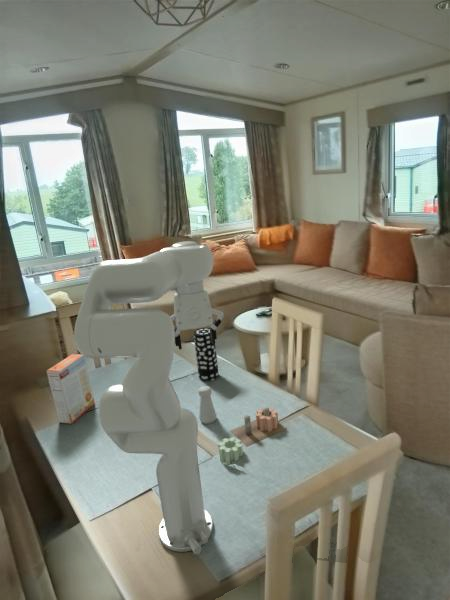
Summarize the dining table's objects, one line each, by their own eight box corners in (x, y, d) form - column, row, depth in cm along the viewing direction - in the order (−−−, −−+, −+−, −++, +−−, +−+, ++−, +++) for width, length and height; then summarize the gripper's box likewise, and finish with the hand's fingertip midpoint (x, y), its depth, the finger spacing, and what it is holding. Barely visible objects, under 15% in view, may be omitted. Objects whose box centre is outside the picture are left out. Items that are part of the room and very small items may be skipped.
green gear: (247, 458, 120) (246, 445, 118) (227, 468, 116) (225, 455, 115) (235, 447, 125) (234, 434, 124) (215, 455, 122) (214, 443, 121)
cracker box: (82, 402, 160) (72, 353, 154) (95, 404, 158) (85, 353, 152) (57, 423, 148) (45, 369, 142) (71, 425, 146) (59, 371, 140)
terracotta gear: (282, 423, 133) (281, 410, 132) (270, 434, 128) (270, 421, 126) (264, 417, 137) (263, 405, 136) (252, 427, 132) (251, 415, 131)
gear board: (287, 431, 130) (285, 411, 128) (247, 450, 123) (245, 429, 121) (268, 417, 139) (267, 398, 137) (230, 434, 132) (228, 414, 130)
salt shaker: (214, 428, 136) (210, 392, 132) (198, 427, 137) (193, 392, 133) (218, 418, 141) (214, 383, 138) (202, 417, 142) (198, 383, 139)
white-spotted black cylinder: (195, 375, 174) (190, 330, 168) (213, 370, 177) (209, 326, 171) (203, 383, 166) (197, 337, 161) (221, 377, 170) (217, 332, 164)
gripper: (159, 295, 108) (167, 355, 113) (223, 285, 111) (229, 344, 116) (156, 288, 115) (165, 345, 120) (217, 279, 118) (223, 335, 123)
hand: (196, 344), depth 118 cm, fingers open, 9 cm apart
